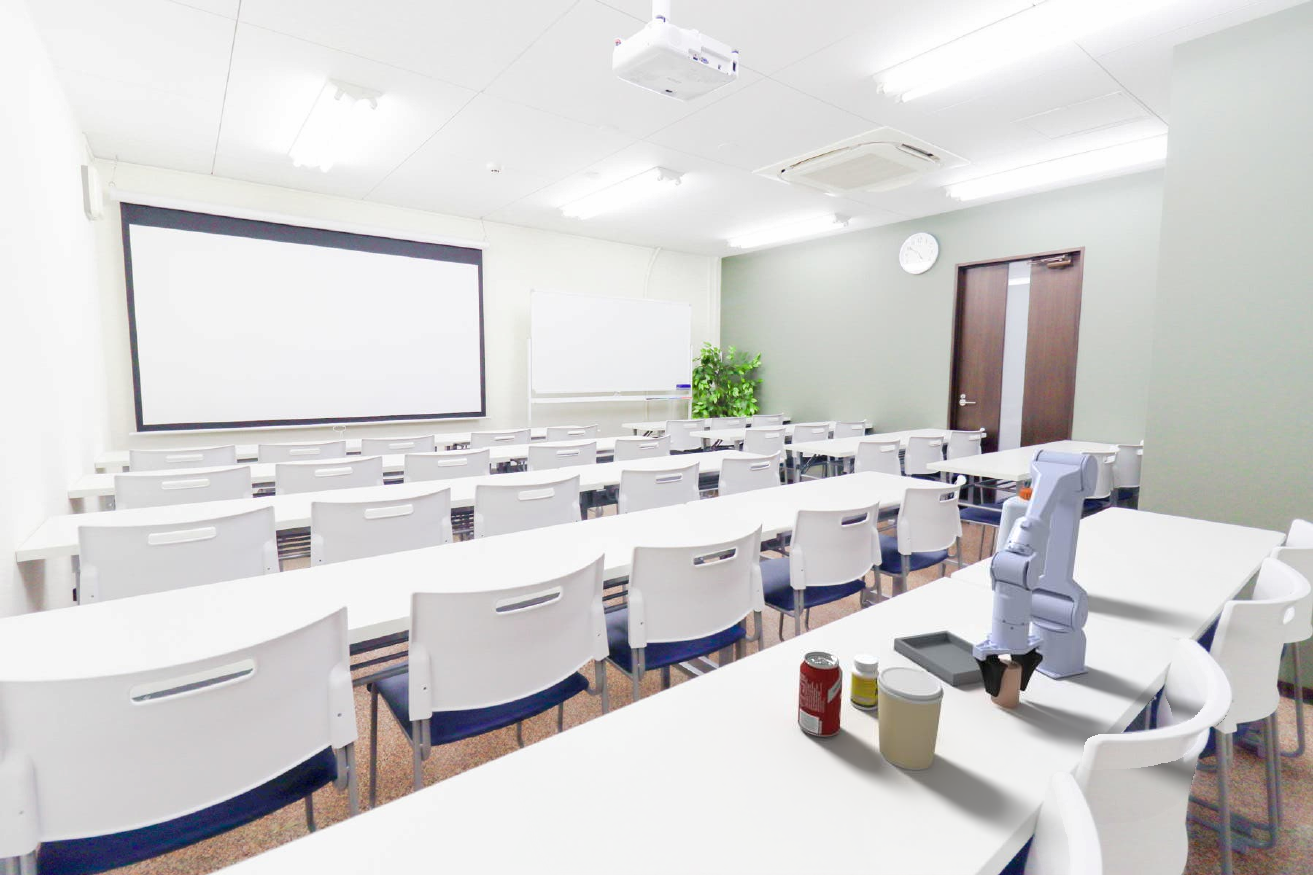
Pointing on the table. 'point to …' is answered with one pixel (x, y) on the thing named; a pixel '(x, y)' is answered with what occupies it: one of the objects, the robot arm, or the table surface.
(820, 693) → the soda can
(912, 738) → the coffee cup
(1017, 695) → the peach cylinder
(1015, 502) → the plastic bottle
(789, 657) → the table surface
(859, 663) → the supplement bottle
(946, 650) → the tray
